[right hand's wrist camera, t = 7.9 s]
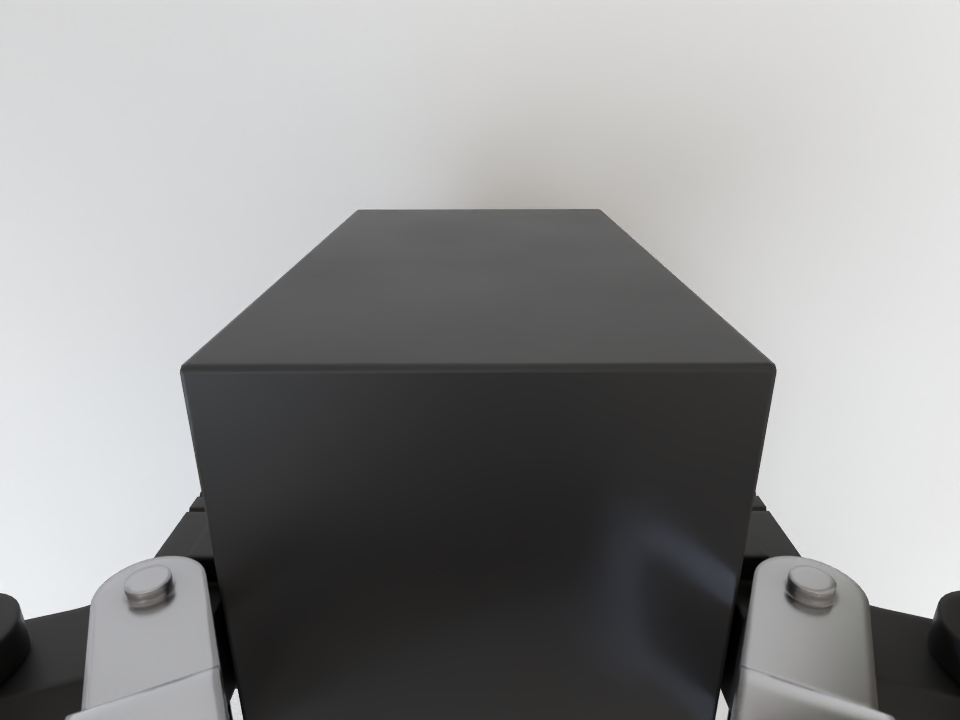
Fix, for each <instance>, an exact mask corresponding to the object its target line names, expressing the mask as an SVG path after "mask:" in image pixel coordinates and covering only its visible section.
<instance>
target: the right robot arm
mask: <svg viewBox="0 0 960 720" xmlns="http://www.w3.org/2000/svg"><path fill="white" fill-rule="evenodd" d="M189 509H190V510H189V512H186V514H185V515H184V516H183V518H182V519H181V521H180V522H179V523H178V525H177V526H176V528H175V529H174V530H173V532H172V533H171V535H170V536H169V537H168V539H167V540H166V542H165V543H164V544H163V546H162V547H161V549H160V550H159V551H158V553H157V554H156V556H155V557H154V558H152V559H148V560H144V561H141V562H138V563H136V564H133V565H131V566H129V567H127V568H125V569H123V570H121V571H119V572H118V573H116V574H115V575H113V576H112V577H110V578H109V579H108V580H107V581H105V582H104V583H103V584H102V585H101V586H100V587H99V589H98V590H97V591H96V593H95V594H94V596H93V598H92V601H91V605H88V606H85V607H82V608H78V609H74V610H70V611H65V612H60V613H56V614H51V615H47V616H42V617H37V618H33V619H28V620H24V618H23V615H22V612H21V609H20V606H19V604H18V602H17V600H16V599H14V598H13V597H12V596H9V595H7V594H2V593H0V720H233V716H232V710H231V705H230V700H231V697H232V695H233V692H234V690H235V689H238V687H237V682H236V677H235V671H234V666H233V660H232V655H231V649H230V644H229V638H228V633H227V627H226V622H225V616H224V611H223V605H222V600H221V594H220V589H219V583H218V578H217V573H216V567H215V562H214V556H213V551H212V545H211V540H210V534H209V529H208V523H207V518H206V512H205V507H204V501H203V496H202V491H201V493H200V497H197V498H196V500H195V501H194V502H193V504H192V505H191V507H190V508H189ZM721 690H722V693H723V695H724V698H725V700H726V703H727V705H728V708H729V710H728V715H727V720H960V591H955V592H951V593H948V594H946V595H945V596H943V597H942V598H941V599H940V601H939V602H938V606H937V609H936V612H935V615H934V618H933V619H929V618H924V617H920V616H915V615H910V614H906V613H901V612H897V611H892V610H887V609H883V608H879V607H875V606H871V605H869V601H868V598H867V597H866V595H865V593H864V591H863V590H862V589H861V588H860V586H859V585H858V584H857V583H856V582H855V581H853V580H852V579H851V578H850V577H848V576H847V575H845V574H844V573H842V572H841V571H839V570H837V569H835V568H833V567H831V566H829V565H827V564H824V563H822V562H819V561H816V560H812V559H808V558H803V557H801V556H800V554H799V553H798V551H797V550H796V549H795V547H794V546H793V544H792V543H791V542H790V540H789V539H788V537H787V536H786V534H785V533H784V532H783V530H782V529H781V527H780V526H779V525H778V523H777V522H776V520H775V519H774V517H773V516H772V515H771V513H770V512H769V511H766V506H765V505H764V503H763V502H762V501H761V499H760V498H759V496H756V492H755V496H754V502H753V507H752V513H751V519H750V524H749V530H748V536H747V541H746V547H745V552H744V558H743V564H742V569H741V575H740V581H739V586H738V592H737V598H736V603H735V609H734V615H733V620H732V626H731V632H730V637H729V643H728V649H727V654H726V660H725V665H724V671H723V677H722V682H721Z"/></svg>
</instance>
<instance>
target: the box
mask: <svg viewBox="0 0 960 720" xmlns="http://www.w3.org/2000/svg"><path fill="white" fill-rule="evenodd" d="M180 376H181V381H182V386H183V392H184V397H185V403H186V408H187V414H188V419H189V425H190V430H191V436H192V441H193V447H194V452H195V458H196V463H197V469H198V474H199V480H200V485H201V490H202V496H203V501H204V507H205V512H206V518H207V523H208V529H209V534H210V540H211V545H212V551H213V556H214V562H215V567H216V573H217V578H218V583H219V589H220V594H221V600H222V605H223V611H224V616H225V622H226V627H227V633H228V638H229V644H230V649H231V655H232V660H233V666H234V671H235V677H236V682H237V687H238V693H239V698H240V704H241V709H242V715H243V720H715V716H716V711H717V705H718V699H719V694H720V688H721V682H722V677H723V671H724V665H725V660H726V654H727V649H728V643H729V637H730V632H731V626H732V620H733V615H734V609H735V603H736V598H737V592H738V586H739V581H740V575H741V569H742V564H743V558H744V552H745V547H746V541H747V536H748V530H749V524H750V519H751V513H752V507H753V502H754V496H755V490H756V485H757V479H758V473H759V468H760V462H761V456H762V451H763V445H764V439H765V434H766V428H767V423H768V417H769V411H770V406H771V400H772V394H773V389H774V383H775V377H776V367H775V364H774V363H773V362H772V361H770V360H769V359H768V358H767V357H766V356H765V355H764V354H763V353H761V352H760V351H759V350H758V349H757V348H756V347H755V346H754V345H752V344H751V343H750V342H749V341H748V340H747V339H746V338H744V337H743V336H742V335H741V334H740V333H739V332H738V331H737V330H735V329H734V328H733V327H732V326H731V325H730V324H729V323H728V322H726V321H725V320H724V319H723V318H722V317H721V316H720V315H718V314H717V313H716V312H715V311H714V310H713V309H712V308H711V307H709V306H708V305H707V304H706V303H705V302H704V301H703V300H702V299H700V298H699V297H698V296H697V295H696V294H695V293H694V292H692V291H691V290H690V289H689V288H688V287H687V286H686V285H685V284H683V283H682V282H681V281H680V280H679V279H678V278H677V277H676V276H674V275H673V274H672V273H671V272H670V271H669V270H668V269H667V268H665V267H664V266H663V265H662V264H661V263H660V262H659V261H657V260H656V259H655V258H654V257H653V256H652V255H651V254H650V253H648V252H647V251H646V250H645V249H644V248H643V247H642V246H641V245H639V244H638V243H637V242H636V241H635V240H634V239H633V238H631V237H630V236H629V235H628V234H627V233H626V232H625V231H624V230H622V229H621V228H620V227H619V226H618V225H617V224H616V223H615V222H613V221H612V220H611V219H610V218H609V217H608V216H607V215H605V214H604V213H603V212H602V211H601V210H599V209H521V210H358V211H356V212H355V213H354V214H353V215H351V216H350V217H349V218H348V219H347V220H346V221H345V222H344V223H342V224H341V225H340V226H339V227H338V228H337V229H336V230H335V231H333V232H332V233H331V234H330V235H329V236H328V237H327V238H325V239H324V240H323V241H322V242H321V243H320V244H319V245H318V246H316V247H315V248H314V249H313V250H312V251H311V252H310V253H308V254H307V255H306V256H305V257H304V258H303V259H302V260H301V261H299V262H298V263H297V264H296V265H295V266H294V267H293V268H291V269H290V270H289V271H288V272H287V273H286V274H285V275H284V276H282V277H281V278H280V279H279V280H278V281H277V282H276V283H275V284H273V285H272V286H271V287H270V288H269V289H268V290H267V291H265V292H264V293H263V294H262V295H261V296H260V297H259V298H258V299H256V300H255V301H254V302H253V303H252V304H251V305H250V306H248V307H247V308H246V309H245V310H244V311H243V312H242V313H241V314H239V315H238V316H237V317H236V318H235V319H234V320H233V321H231V322H230V323H229V324H228V325H227V326H226V327H225V328H224V329H222V330H221V331H220V332H219V333H218V334H217V335H216V336H215V337H213V338H212V339H211V340H210V341H209V342H208V343H207V344H205V345H204V346H203V347H202V348H201V349H200V350H199V351H198V352H196V353H195V354H194V355H193V356H192V357H191V358H190V359H188V360H187V361H186V362H185V363H184V364H183V365H182V366H181V370H180Z"/></svg>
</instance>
